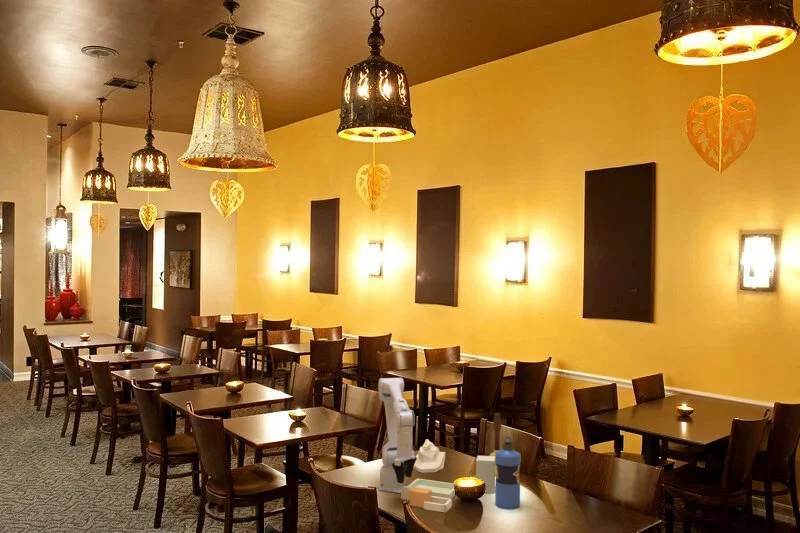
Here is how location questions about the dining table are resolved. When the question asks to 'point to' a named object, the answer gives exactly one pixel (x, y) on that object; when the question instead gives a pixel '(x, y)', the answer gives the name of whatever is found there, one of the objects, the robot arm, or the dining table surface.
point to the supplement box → (486, 471)
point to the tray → (435, 487)
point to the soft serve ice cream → (429, 458)
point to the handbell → (496, 435)
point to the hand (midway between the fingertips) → (404, 479)
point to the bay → (438, 504)
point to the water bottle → (507, 476)
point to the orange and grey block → (416, 495)
